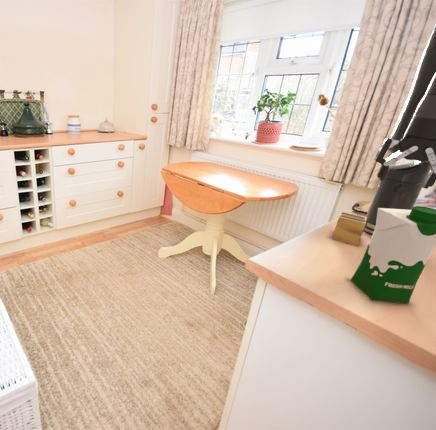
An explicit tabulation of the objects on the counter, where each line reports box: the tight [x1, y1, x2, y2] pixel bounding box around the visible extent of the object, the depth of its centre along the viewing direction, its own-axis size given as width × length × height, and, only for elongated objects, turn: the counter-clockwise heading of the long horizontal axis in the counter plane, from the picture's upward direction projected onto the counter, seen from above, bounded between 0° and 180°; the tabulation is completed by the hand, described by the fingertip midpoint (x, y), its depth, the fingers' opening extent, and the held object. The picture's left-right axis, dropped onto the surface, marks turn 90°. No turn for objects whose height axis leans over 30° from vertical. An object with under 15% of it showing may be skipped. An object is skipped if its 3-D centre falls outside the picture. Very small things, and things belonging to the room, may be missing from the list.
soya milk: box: [350, 205, 436, 304], centre depth 59 cm, size 9×9×20 cm
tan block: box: [331, 211, 368, 247], centre depth 85 cm, size 6×6×7 cm
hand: (401, 183), depth 74 cm, fingers open, 8 cm apart
